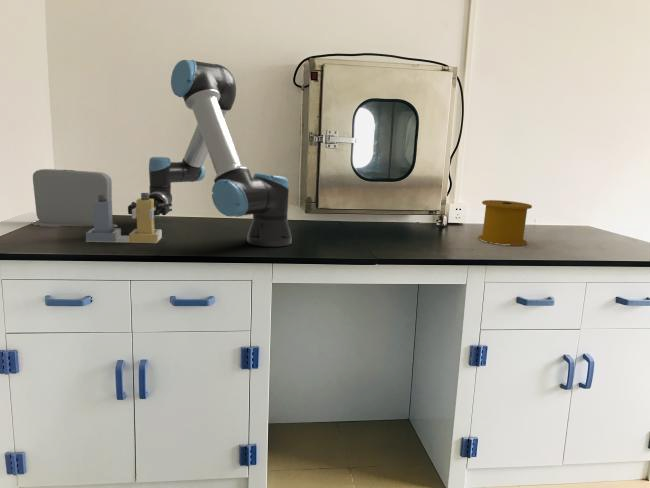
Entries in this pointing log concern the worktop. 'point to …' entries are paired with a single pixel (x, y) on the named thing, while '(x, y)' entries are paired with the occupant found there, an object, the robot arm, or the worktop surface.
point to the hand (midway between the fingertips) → (142, 214)
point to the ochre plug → (144, 214)
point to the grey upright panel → (68, 196)
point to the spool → (504, 222)
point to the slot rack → (117, 237)
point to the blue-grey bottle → (103, 215)
